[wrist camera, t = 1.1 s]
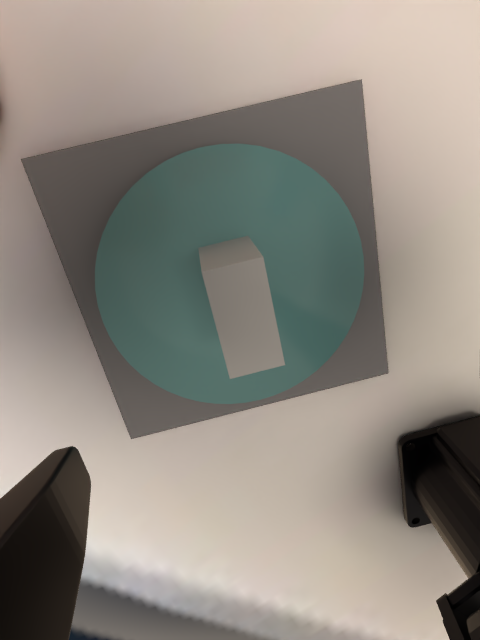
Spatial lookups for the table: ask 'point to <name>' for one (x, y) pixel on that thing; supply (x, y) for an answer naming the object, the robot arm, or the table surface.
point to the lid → (229, 273)
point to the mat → (171, 140)
